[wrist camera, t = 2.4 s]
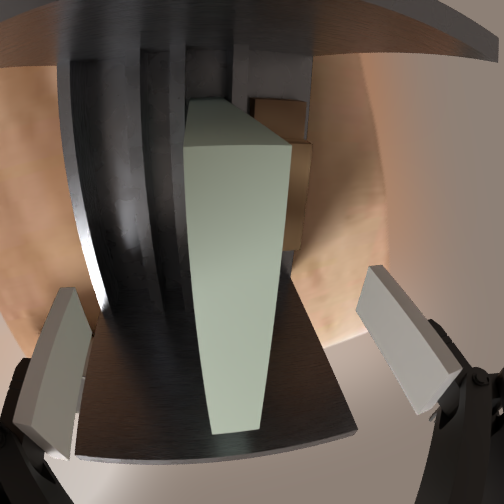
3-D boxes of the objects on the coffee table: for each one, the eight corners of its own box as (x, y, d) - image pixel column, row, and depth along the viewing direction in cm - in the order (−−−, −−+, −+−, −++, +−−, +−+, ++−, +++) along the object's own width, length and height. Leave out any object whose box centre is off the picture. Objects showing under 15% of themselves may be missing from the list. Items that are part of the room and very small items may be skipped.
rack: (77, 55, 18) (-102, 60, 2) (307, 46, 22) (498, 37, 5) (110, 288, 31) (80, 459, 15) (285, 276, 34) (353, 434, 18)
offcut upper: (253, 137, 22) (258, 142, 20) (303, 138, 23) (312, 144, 21) (249, 240, 27) (253, 252, 25) (293, 238, 28) (300, 249, 26)
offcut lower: (250, 97, 22) (255, 99, 20) (298, 99, 23) (306, 102, 21) (245, 229, 29) (249, 240, 27) (287, 227, 29) (293, 238, 28)
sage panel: (189, 98, 21) (183, 146, 6) (221, 97, 22) (291, 145, 7) (194, 251, 29) (212, 434, 14) (221, 249, 29) (259, 429, 14)
